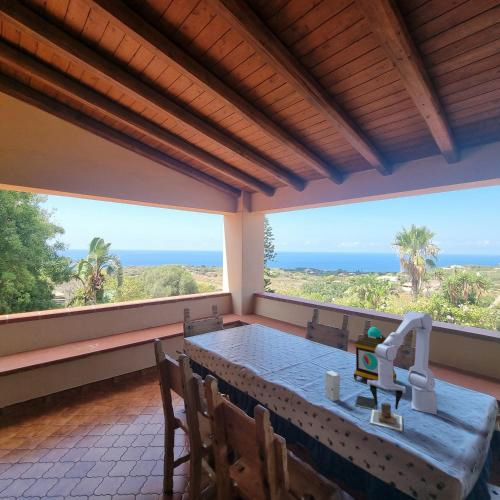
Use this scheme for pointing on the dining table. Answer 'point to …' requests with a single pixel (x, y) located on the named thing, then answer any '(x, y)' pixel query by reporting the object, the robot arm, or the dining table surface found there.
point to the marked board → (397, 426)
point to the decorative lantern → (369, 355)
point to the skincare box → (332, 386)
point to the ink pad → (365, 402)
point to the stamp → (386, 414)
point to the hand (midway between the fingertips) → (386, 405)
